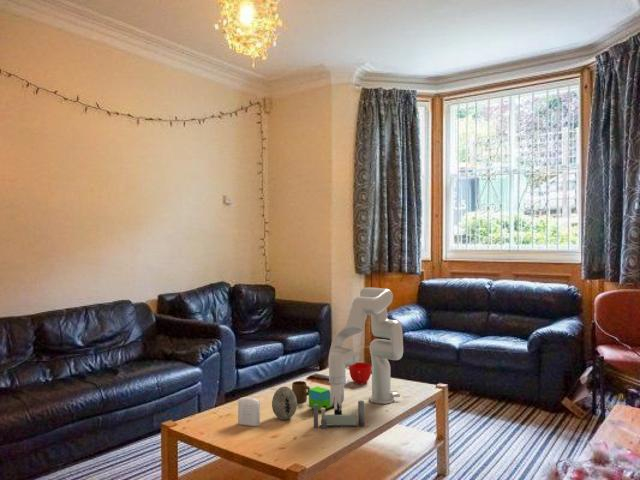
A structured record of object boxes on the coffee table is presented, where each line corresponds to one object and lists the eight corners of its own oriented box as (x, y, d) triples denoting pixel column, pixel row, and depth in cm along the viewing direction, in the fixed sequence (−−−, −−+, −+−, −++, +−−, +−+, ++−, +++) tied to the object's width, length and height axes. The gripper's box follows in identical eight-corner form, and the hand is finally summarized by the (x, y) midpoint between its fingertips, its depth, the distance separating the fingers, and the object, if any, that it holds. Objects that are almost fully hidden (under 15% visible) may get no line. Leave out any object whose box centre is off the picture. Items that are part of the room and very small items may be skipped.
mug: (315, 403, 255) (315, 384, 255) (304, 406, 250) (304, 388, 250) (300, 397, 264) (299, 380, 264) (289, 401, 259) (289, 383, 258)
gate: (355, 423, 225) (355, 407, 225) (355, 424, 223) (355, 409, 223) (321, 423, 226) (321, 407, 225) (321, 424, 224) (320, 409, 223)
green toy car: (340, 406, 249) (340, 386, 249) (322, 413, 240) (322, 393, 240) (325, 402, 256) (325, 382, 256) (307, 408, 247) (307, 388, 247)
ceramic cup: (347, 387, 280) (347, 369, 280) (350, 378, 297) (350, 362, 297) (370, 388, 278) (370, 370, 278) (372, 379, 295) (372, 362, 295)
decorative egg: (276, 425, 226) (275, 392, 226) (269, 416, 237) (268, 385, 237) (300, 421, 230) (300, 388, 230) (292, 412, 241) (292, 382, 241)
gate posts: (364, 424, 225) (363, 400, 225) (365, 428, 221) (365, 403, 221) (313, 425, 224) (313, 401, 224) (313, 429, 220) (313, 404, 220)
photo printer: (261, 423, 228) (260, 396, 228) (257, 427, 224) (257, 399, 224) (241, 421, 231) (240, 395, 231) (236, 425, 227) (236, 397, 227)
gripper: (332, 374, 235) (333, 412, 235) (325, 383, 220) (326, 424, 220) (348, 374, 233) (349, 413, 233) (342, 384, 218) (343, 426, 219)
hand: (338, 418), depth 227 cm, fingers closed
